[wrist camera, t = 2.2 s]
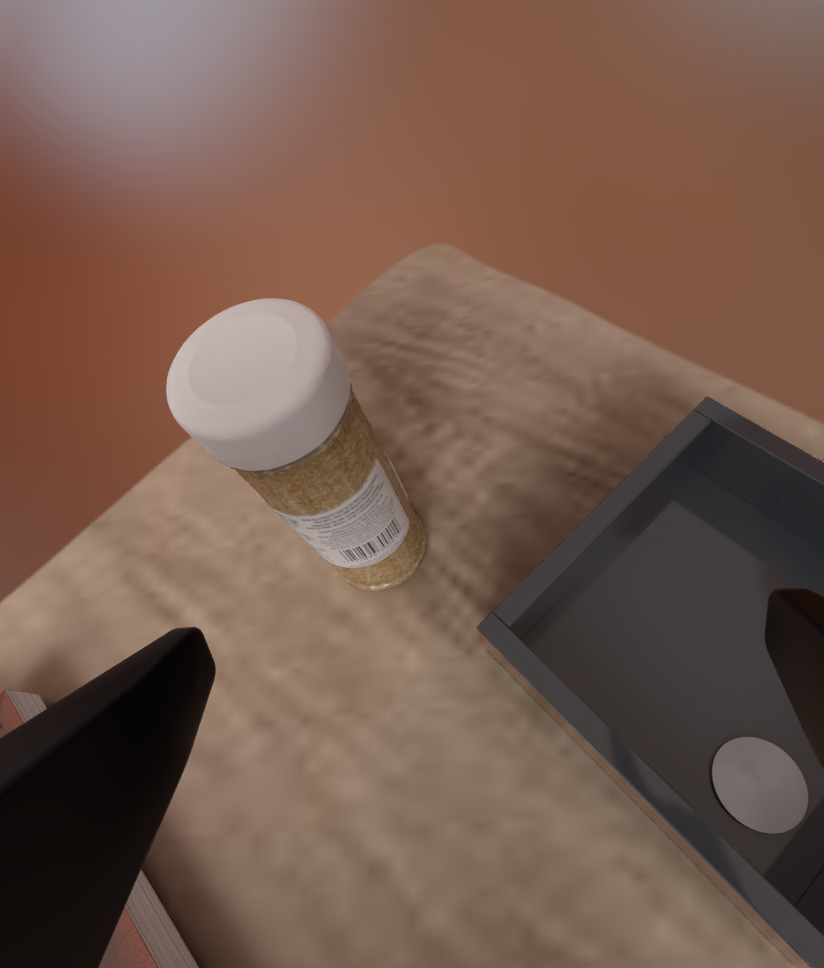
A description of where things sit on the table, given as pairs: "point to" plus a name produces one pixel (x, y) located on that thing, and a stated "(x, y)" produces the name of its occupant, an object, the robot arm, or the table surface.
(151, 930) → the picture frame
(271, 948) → the table surface
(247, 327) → the spice jar
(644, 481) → the sink
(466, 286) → the table surface
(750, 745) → the disc
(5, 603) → the table surface
